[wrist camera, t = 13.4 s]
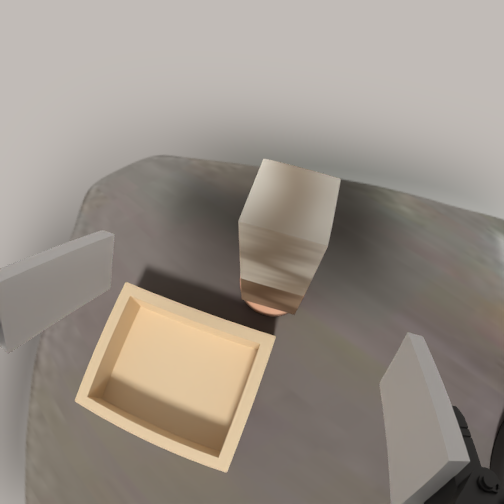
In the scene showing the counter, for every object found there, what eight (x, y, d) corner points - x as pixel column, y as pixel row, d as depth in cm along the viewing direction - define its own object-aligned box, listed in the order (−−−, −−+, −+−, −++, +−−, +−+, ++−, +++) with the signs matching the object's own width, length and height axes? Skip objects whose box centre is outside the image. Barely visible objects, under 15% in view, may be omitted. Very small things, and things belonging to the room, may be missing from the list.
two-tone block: (306, 266, 30) (340, 178, 19) (294, 314, 28) (327, 245, 17) (257, 252, 31) (263, 158, 19) (241, 299, 29) (238, 221, 17)
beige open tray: (272, 344, 28) (275, 336, 25) (229, 464, 23) (226, 472, 20) (137, 295, 30) (125, 281, 27) (92, 402, 25) (74, 400, 21)
